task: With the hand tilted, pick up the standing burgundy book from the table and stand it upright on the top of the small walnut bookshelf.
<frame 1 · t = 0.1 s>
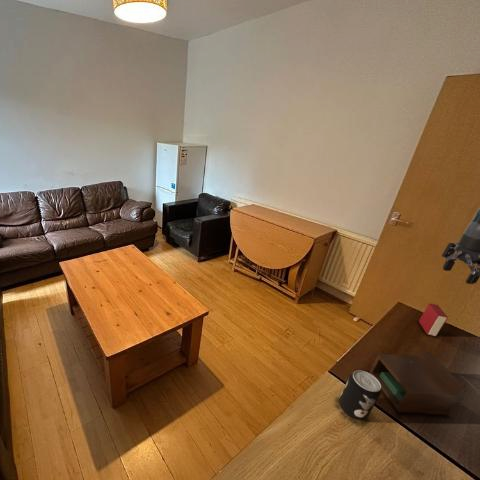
hand: (457, 276, 91), 20 cm above the table, tool pointing down, fingers open, 8 cm apart
beverage can: (351, 409, 70), on the table
bookshelf: (404, 391, 74), on the table
book: (427, 328, 95), on the table
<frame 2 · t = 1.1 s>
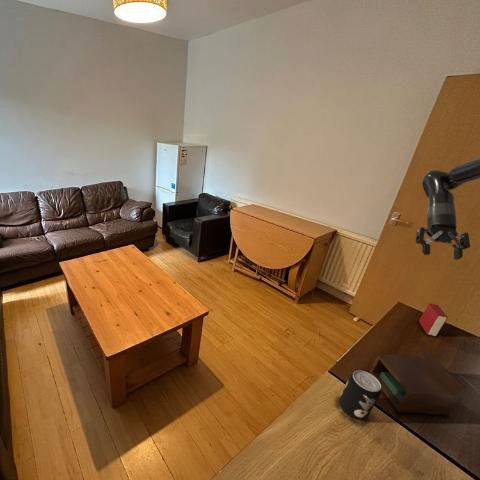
hand: (442, 256, 94), 25 cm above the table, tool tilted 45°, fingers open, 8 cm apart
nothing on the table moved.
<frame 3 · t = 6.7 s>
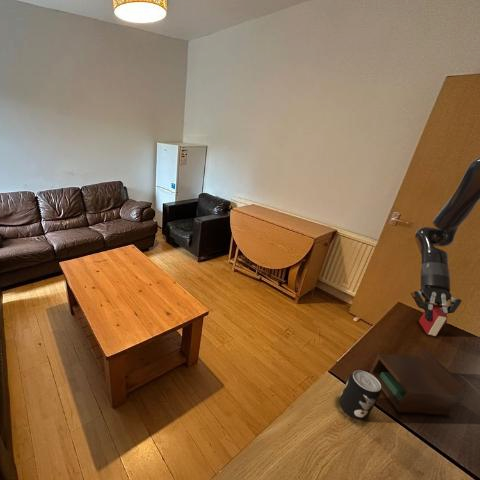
hand: (435, 322, 91), 5 cm above the table, tool tilted 45°, fingers closed on book, 2 cm apart
book: (427, 328, 95), on the table, touching gripper
everything else where it was.
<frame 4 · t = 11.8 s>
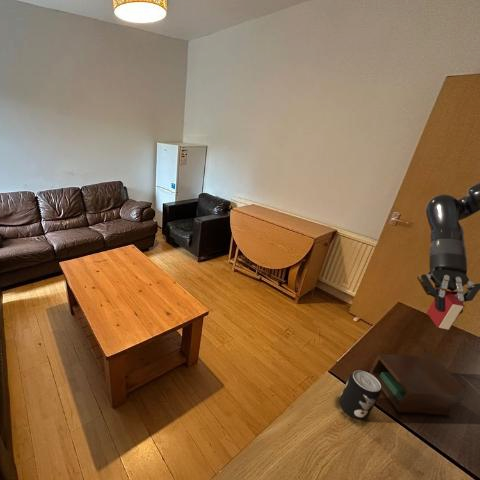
hand: (448, 312, 73), 21 cm above the table, tool tilted 45°, fingers closed on book, 2 cm apart
book: (437, 320, 77), point 16 cm above the table, touching gripper
everything else where it was.
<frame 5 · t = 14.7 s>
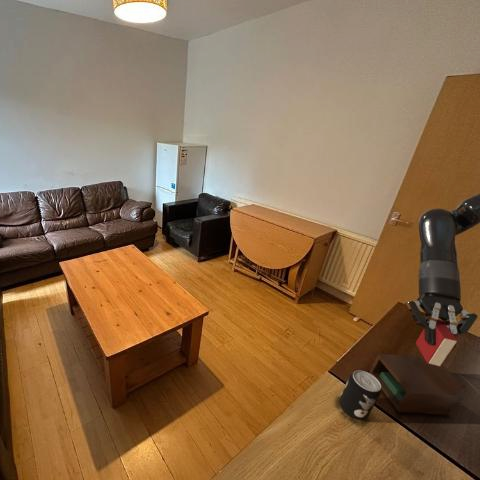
hand: (440, 346, 63), 20 cm above the table, tool tilted 45°, fingers closed on book, 2 cm apart
book: (427, 354, 67), point 15 cm above the table, touching gripper
everything else where it was.
when the fingers open (13 cm above the table, at t = 16.9 s): book stays where it is, resting on bookshelf.
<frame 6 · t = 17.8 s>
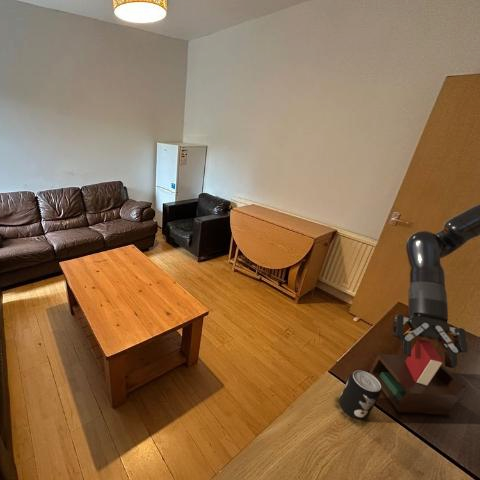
hand: (428, 361, 66), 14 cm above the table, tool tilted 45°, fingers open, 8 cm apart
book: (415, 373, 70), point 8 cm above the table, touching bookshelf
everything else where it was.
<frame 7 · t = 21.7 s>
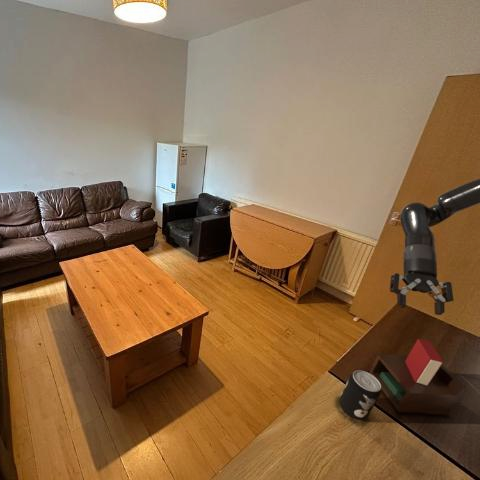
hand: (420, 310, 78), 18 cm above the table, tool tilted 45°, fingers open, 8 cm apart
nothing on the table moved.
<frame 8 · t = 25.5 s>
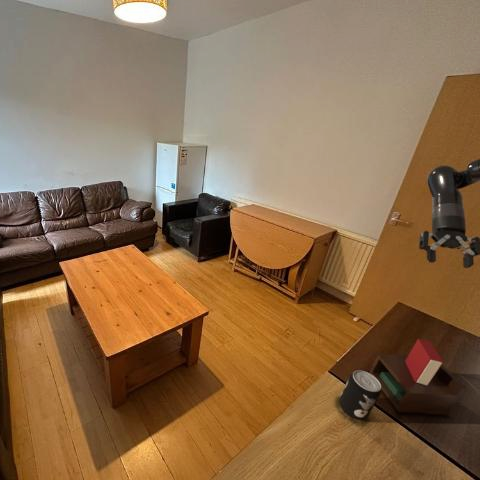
hand: (449, 264, 82), 29 cm above the table, tool tilted 45°, fingers open, 8 cm apart
nothing on the table moved.
at the end: book inside the target area on the bookshelf (0.5 cm from its centre), point 8.0 cm above the bookshelf's base; book tilted 0°; the gripper is holding nothing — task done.
